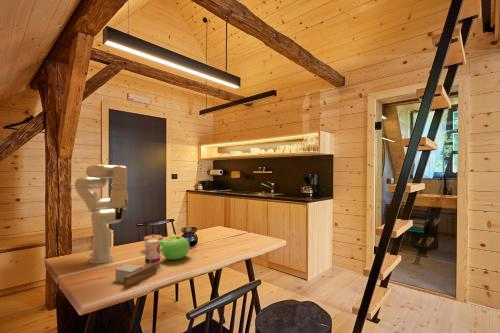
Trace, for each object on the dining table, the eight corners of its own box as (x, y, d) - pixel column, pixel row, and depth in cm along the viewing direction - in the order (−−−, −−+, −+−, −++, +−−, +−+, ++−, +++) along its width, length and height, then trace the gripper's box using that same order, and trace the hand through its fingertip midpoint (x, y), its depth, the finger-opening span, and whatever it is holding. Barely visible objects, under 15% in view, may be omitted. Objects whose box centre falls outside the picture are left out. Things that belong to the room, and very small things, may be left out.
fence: (123, 286, 129) (124, 276, 129) (152, 272, 148) (152, 263, 148) (127, 287, 129) (128, 277, 129) (156, 272, 147) (156, 263, 147)
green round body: (176, 265, 159) (176, 240, 159) (154, 260, 166) (154, 237, 166) (194, 256, 175) (194, 233, 175) (174, 252, 182) (174, 231, 182)
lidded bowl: (165, 247, 193) (165, 232, 193) (157, 253, 181) (158, 236, 181) (148, 247, 195) (149, 231, 195) (140, 252, 182) (140, 236, 182)
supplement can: (161, 263, 161) (161, 238, 161) (157, 268, 153) (157, 242, 153) (148, 263, 161) (148, 238, 161) (143, 268, 153) (143, 242, 153)
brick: (115, 280, 137) (115, 269, 137) (127, 274, 144) (127, 263, 144) (130, 283, 133) (130, 271, 134) (142, 277, 141) (142, 266, 141)
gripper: (104, 187, 153) (103, 219, 153) (123, 188, 147) (123, 221, 147) (115, 186, 160) (114, 216, 160) (134, 187, 154) (133, 219, 154)
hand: (118, 219), depth 153 cm, fingers closed
